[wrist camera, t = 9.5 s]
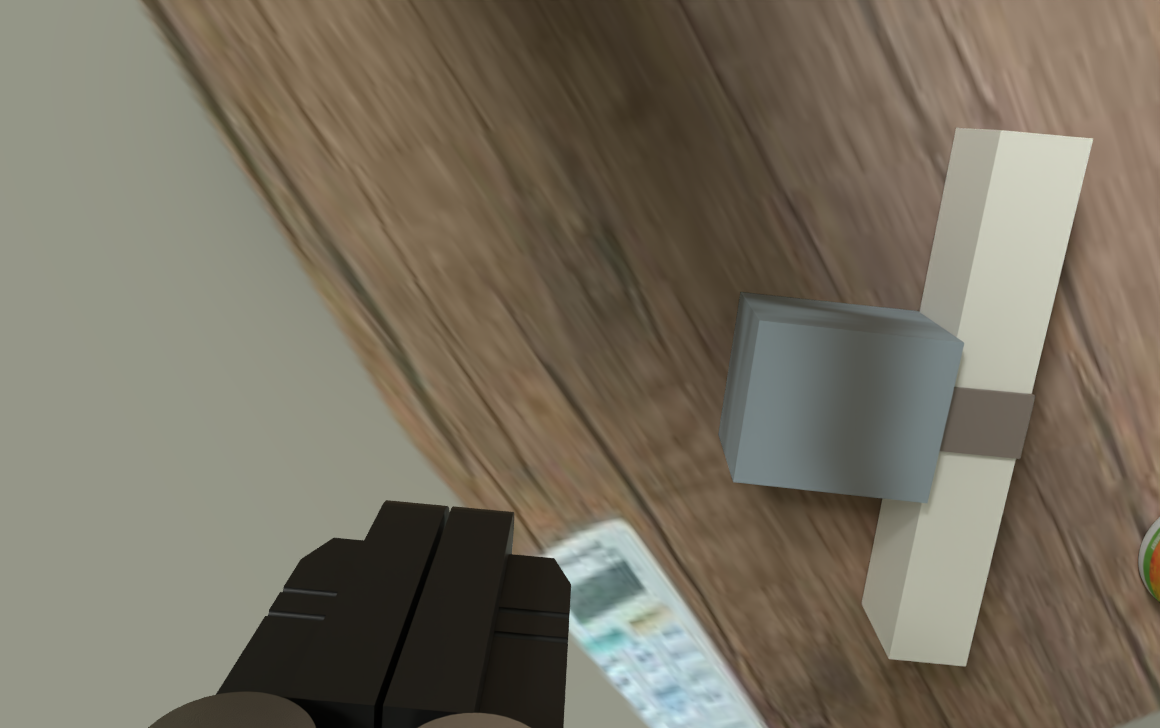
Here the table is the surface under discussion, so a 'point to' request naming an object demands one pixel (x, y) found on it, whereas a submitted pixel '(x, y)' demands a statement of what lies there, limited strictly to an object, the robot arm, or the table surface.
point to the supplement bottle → (1151, 560)
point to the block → (837, 397)
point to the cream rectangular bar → (976, 381)
